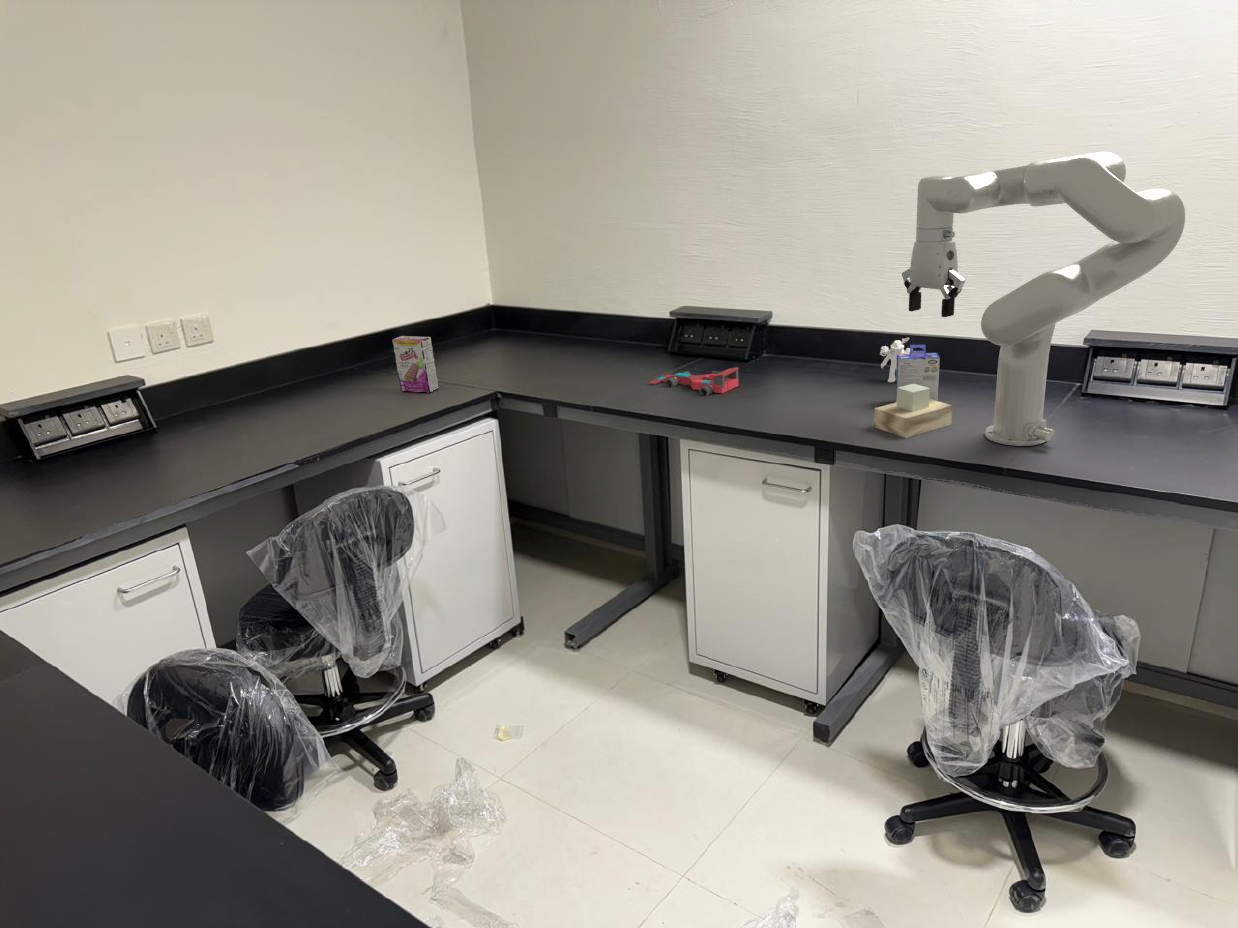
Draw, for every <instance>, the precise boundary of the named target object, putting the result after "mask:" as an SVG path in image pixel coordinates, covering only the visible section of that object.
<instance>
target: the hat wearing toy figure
mask: <svg viewBox="0 0 1238 928" xmlns="http://www.w3.org/2000/svg"><path fill="white" fill-rule="evenodd" d="M909 340H910V337H908V336H907V337H906V338H901V340H899V339H898V340H896V339H895V340H894V341H893V342H892V343H891V344H890V347H889V346H886V345H885V346H883V345H882V346H881V347H880V352H879V355H880V356H882V357H885V356H886V357H885V358H884V359H883V361H882V362H881V364H880V368H881V369H884V366H887V364H888V362H889V360H890V366H889V367H890V368H889V374H888V376H889V377H888V379H887V382H888V383H895V382H896V375H895V374H896V367H897V355H900V354H910V346H909V347H906V348H905V345H904V344H905V343H906V342H908V341H909ZM904 348H905V349H904ZM912 350H913V349H912ZM913 351H914V350H913Z"/></svg>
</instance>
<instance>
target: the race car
mask: <svg viewBox="0 0 1238 928" xmlns="http://www.w3.org/2000/svg"><path fill="white" fill-rule="evenodd" d="M739 381H740V380H739V367H738V366H736V367H731V368H728V369H725V370H723V371H719V370H712V371H711V373H708V374H697V375H694V374H691V372H690V371H689V370H686V371H683V372H678V373H675V374H666V375H663V376H660V377H658V378H656V379H654V380H651V381H649V382H648V383H647V384H648V385H657V384H659V383H660V382H663V383H664V385H665V387H666V388H669V387H670V388H673V387H677V386H678V384H679V385H683V386H689V387H691V388H692V390H695V391H698V393H699V394H700V395H701V396H703V395H705V397H706V396H710V395H712V393H716V394H724V393H726V392H728V391H731V390H732V389H734V388H737V387H739V385H740V384H739Z"/></svg>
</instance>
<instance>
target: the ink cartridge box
mask: <svg viewBox="0 0 1238 928" xmlns="http://www.w3.org/2000/svg"><path fill="white" fill-rule="evenodd" d="M909 348H910V354H900V355H897V367H896V370H895V374H896V375H895V402H897V388H898V387H902V386H906V385H910V384H917V385H921V386H924V387H928V388H930V398H929V399H932V400H935V401H939V399H938V397H939V379H940V364H941V363H940V361H941V357H940V356H939V354H938V352H927V351H926V349H927V348H926V344H910V345H909ZM918 348H919V349H922V350H912V349H918ZM895 402H894V403H895Z"/></svg>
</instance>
